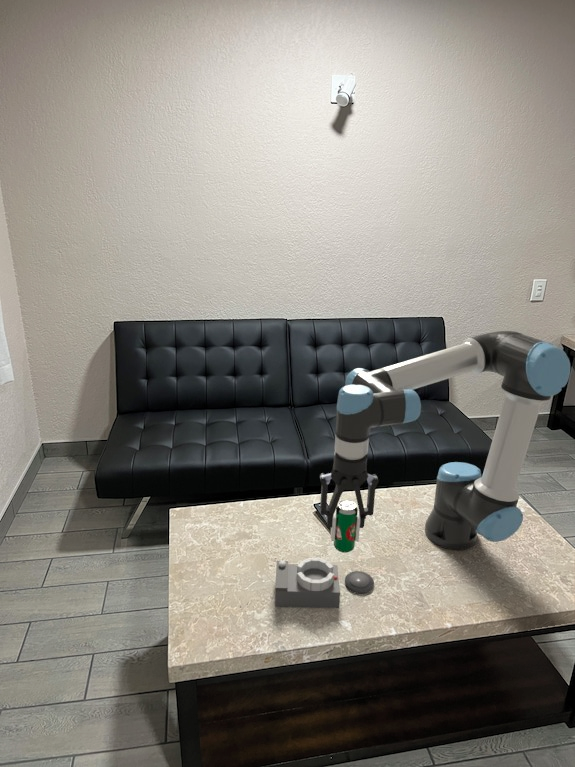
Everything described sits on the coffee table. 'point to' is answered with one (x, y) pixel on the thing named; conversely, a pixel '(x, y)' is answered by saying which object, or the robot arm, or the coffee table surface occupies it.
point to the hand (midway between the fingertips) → (344, 537)
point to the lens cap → (359, 582)
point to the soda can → (345, 526)
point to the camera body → (307, 584)
